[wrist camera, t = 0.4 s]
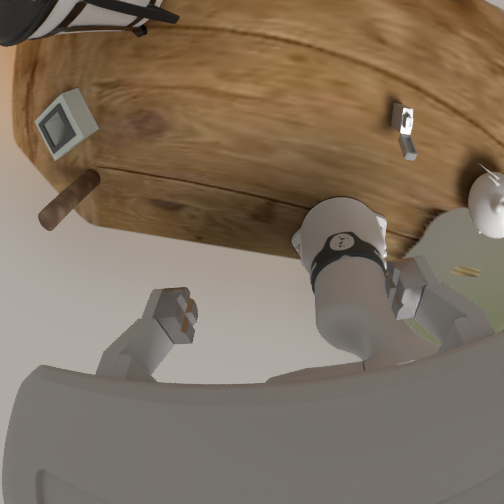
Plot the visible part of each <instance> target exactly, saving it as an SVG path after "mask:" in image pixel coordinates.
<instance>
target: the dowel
mask: <svg viewBox="0 0 504 504" xmlns="http://www.w3.org/2000/svg"><path fill="white" fill-rule="evenodd" d="M99 183H100V176H99V174H98V173H97V172H96V171H95V170H93V169H89V170H88V171H86V172H85V173H84V174H83V175H81V176H80V177H79V178H78V179H77V180H75V181H74V182H73V183H72V184H71V185H69V186H68V187H67V188H66V189H65V190H64V191H63V192H61V193H60V194H59V195H58V196H57V197H56V198H55V199H54V200H52V201H51V202H50V203H49V204H48V205H47V206H46V207H45V208H44V209H43V210H42V211H41V212H40V213H39V215H38V218H39V221H40V223H41V225H42V226H43V227H44V228H45V229H46V230H48V231H52V230H53V229H54V228H55V227H56V226H57V225H58V224H59V223H60V222H61V221H62V220H63V218H64V217H65V216H66V215H67V214H68V213H69V212H70V211H71V210H72V209H73V208H74V207H75V206H76V205H77V204H78V203H79V202H80V201H81V200H82V199H83V198H85V197H86V196H87V195H88V194H89V193H90V192H91V191H92V190H93V189H94V188H95V187H96V186H97V185H98V184H99Z"/></svg>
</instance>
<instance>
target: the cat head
mask: <svg viewBox="0 0 504 504" xmlns="http://www.w3.org/2000/svg"><path fill="white" fill-rule="evenodd" d="M480 165H481V164H480ZM481 166H482V165H481ZM482 167H483V166H482ZM483 168H485V167H483ZM485 169H486V168H485ZM486 170H487V169H486ZM487 171H488V173H485V174H483V175H481V176H480V177H478V178H477V179H476V180H475V182H474V183H473V185H472V187H471V189H470V192H469V197H468V208H469V213H470V216H471V219H472V221H473V223H474V224H475V226H476V227H477V228H478V233H479V234H480V233H481V232H482V233H483V234H485V235H486V236H489V237H492V238H503V237H504V174H501V173H499V172H490V171H489V170H487Z"/></svg>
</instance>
